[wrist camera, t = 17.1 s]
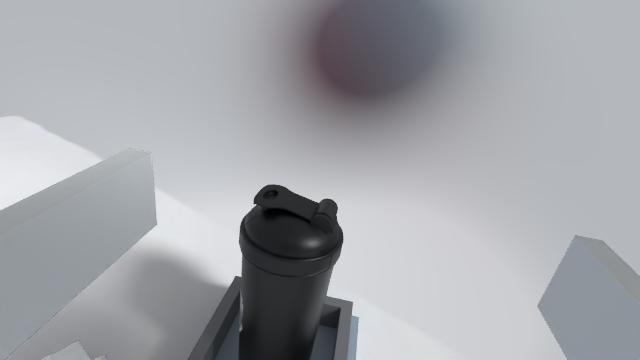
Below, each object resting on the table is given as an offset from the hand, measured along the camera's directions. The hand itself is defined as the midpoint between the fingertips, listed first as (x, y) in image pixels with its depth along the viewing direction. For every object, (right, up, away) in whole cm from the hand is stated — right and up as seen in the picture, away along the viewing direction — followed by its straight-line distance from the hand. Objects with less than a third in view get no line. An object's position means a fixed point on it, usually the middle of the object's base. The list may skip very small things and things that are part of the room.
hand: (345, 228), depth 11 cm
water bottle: (-7, -21, +32) cm, 39 cm away
